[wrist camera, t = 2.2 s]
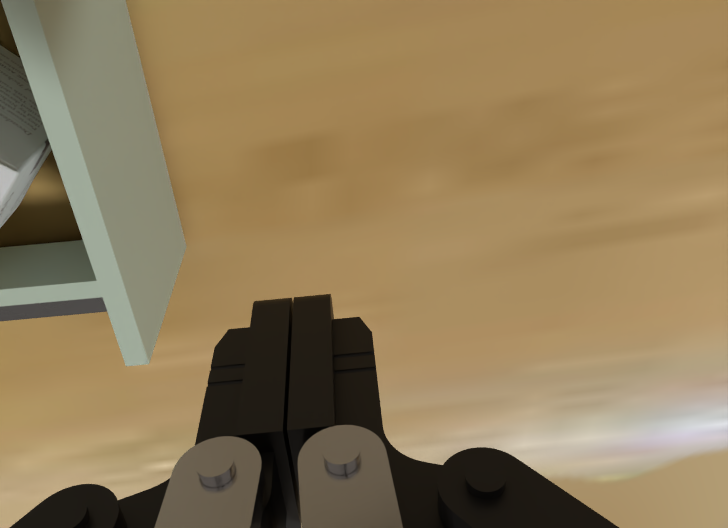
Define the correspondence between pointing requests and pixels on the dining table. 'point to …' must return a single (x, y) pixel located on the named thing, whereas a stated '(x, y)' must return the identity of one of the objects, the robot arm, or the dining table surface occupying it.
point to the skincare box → (18, 134)
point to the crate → (98, 171)
